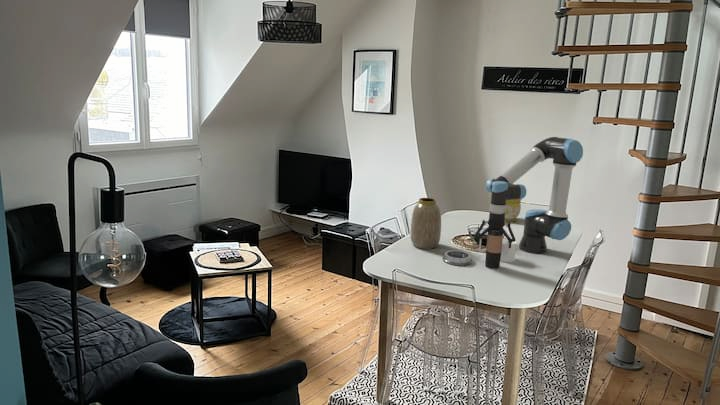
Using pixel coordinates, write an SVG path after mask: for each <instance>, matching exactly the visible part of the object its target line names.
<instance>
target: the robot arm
mask: <svg viewBox="0 0 720 405" xmlns="http://www.w3.org/2000/svg"><path fill="white" fill-rule="evenodd" d="M583 148H584V147H583V145H582V144H581V142H580V141H579V140H577V139H576V140H575V139H573V138H566V137H565V138H564V137H558V136H551V137H548V138H545V139H542V140H541V141H539V142H537V143H536V144H534V145H533V146H532V147H531V148H530V150H529V152H527V153H525V155H524V156H523V157H521V158H520V159H519V160H517V161H516V162H515V163H514V164H512V166H510V167H508V169H506V171H504V172H502V173H501V174H500V175H499V176H498V177H496V178H489V179H488V180H487V181H486V183H485V189H486V191H487V192H488V193H490V194H491V195H490V196H491V197H490V204H489V205H490V206H489V215H488V216H489V217H488V220H485V219H482V221H481V224H480V225H479V227H478V228H477V230H476V232H475V233H474V236H473V237H474V238H476V239H477V244H476V245H478V252H480V253H481V249H482V248H481V247H482V240H483V239H482V237H483V236H485V235H486V234H488V231H489V230H490V229H492V230H497V231H499V230H501V231H502V232H503V236H504V237H505V239H508V241H507V250H506V255H508V248H511V243H512V242H515V241H516V237H515V234H514V232H513V230H512V227H511V222H504V219H505V209H506V201H507V200H516V199H517V200H518V199H524V198H525V197H526V196H527V191H528V190H527V188H526V186H525V185H524V184H521V183H520V184H519V183H517V184H515V182H517V181H518V180H520V178H522V177H523V176H524V175H525V174H527V173H528V172H530V170H532V169H533V168H534V167H535V166H536V165H538V164H539V163H543V162H544V161H545V160H549V159H553V160H552V165H553V166H554V172H553V181H552V187H551V195H550V202H549V207H548V210H546V209H536V208H535V209H529V210H526V211H525V216H524V225H523V234H522V237H521V239H520V241H519V243H518V248H519V249H520V250H521V251H523V252H527V253H530V254H531V253H532V254H533V253H534V254H543V253H547V250H548V249H547V248H548V246H547V242H546V237H547V238H550V239H552V240H557V241H563V240H564V239H566V238H567V237H568V236H569V235H570V233H571V231H572V224H571V221H570V220H569V215H568V214H567V206H568V201H569V194H570V187H571V182H572V181H571V180H572V173H573V168H575V167H576V166H577V163H579V162H580V161H581V159H583V155H584V149H583ZM486 225H488V226H487V227H486V228H485V229H484V230H482V229H483V228H484V226H486ZM505 226H506V228H507V229H508V231H509V234H508V232H506V230H505V229H504V227H505ZM481 231H482V232H481Z"/></svg>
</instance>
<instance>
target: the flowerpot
mask: <svg viewBox="0 0 720 405" xmlns="http://www.w3.org/2000/svg"><path fill="white" fill-rule="evenodd" d="M522 199H523V198H522ZM522 199H518V200H517V199H516V200H507V201H506V209H505V219H504V222H505V223H508V222H510V223H513V222H516V220H517V217H519V215H520V214H521V209H522V208H521V206H522V205H521V201H522Z"/></svg>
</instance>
